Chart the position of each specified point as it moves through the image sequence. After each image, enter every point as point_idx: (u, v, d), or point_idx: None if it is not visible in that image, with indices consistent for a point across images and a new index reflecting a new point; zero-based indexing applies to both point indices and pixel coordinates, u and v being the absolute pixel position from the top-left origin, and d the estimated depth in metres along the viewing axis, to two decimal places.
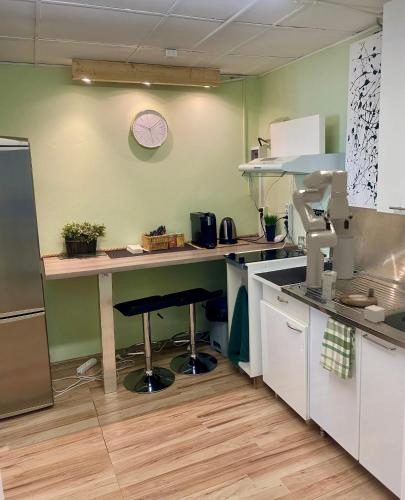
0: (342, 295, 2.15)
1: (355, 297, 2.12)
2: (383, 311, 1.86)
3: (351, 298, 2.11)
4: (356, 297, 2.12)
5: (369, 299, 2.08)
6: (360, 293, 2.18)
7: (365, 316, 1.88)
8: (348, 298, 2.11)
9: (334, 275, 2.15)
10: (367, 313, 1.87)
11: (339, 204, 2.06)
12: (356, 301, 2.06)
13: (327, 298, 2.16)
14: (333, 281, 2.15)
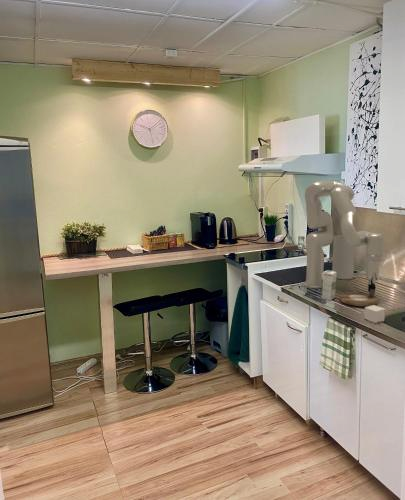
0: (343, 294, 2.16)
1: (354, 297, 2.12)
2: (383, 311, 1.86)
3: (350, 298, 2.11)
4: (356, 297, 2.12)
5: (369, 300, 2.07)
6: (362, 293, 2.17)
7: (365, 316, 1.88)
8: (347, 298, 2.11)
9: (334, 275, 2.15)
10: (367, 313, 1.87)
11: None
12: (354, 301, 2.06)
13: (327, 298, 2.16)
14: (333, 281, 2.15)
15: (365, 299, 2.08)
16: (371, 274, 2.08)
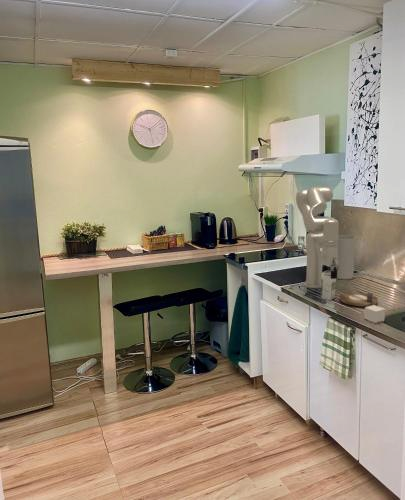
0: (355, 292, 2.19)
1: (356, 296, 2.13)
2: (383, 311, 1.86)
3: (351, 295, 2.15)
4: (358, 296, 2.13)
5: (356, 301, 2.07)
6: (373, 298, 2.10)
7: (365, 316, 1.88)
8: (349, 294, 2.16)
9: None
10: (367, 313, 1.87)
11: None
12: (344, 297, 2.13)
13: (327, 298, 2.16)
14: (333, 281, 2.15)
15: (356, 299, 2.08)
16: (332, 260, 2.09)
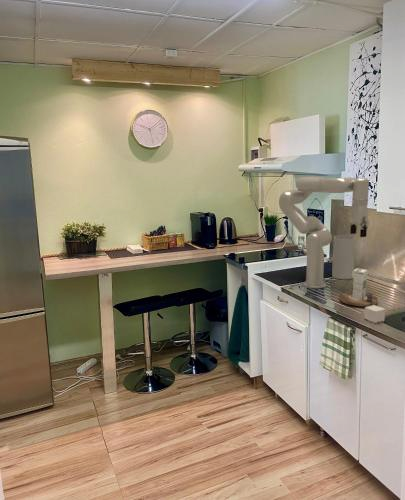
0: None
1: None
2: (383, 311, 1.86)
3: None
4: None
5: (356, 301, 2.07)
6: (373, 298, 2.10)
7: (365, 316, 1.88)
8: (349, 294, 2.16)
9: (365, 273, 2.07)
10: (367, 313, 1.87)
11: None
12: (344, 297, 2.13)
13: (358, 297, 2.09)
14: (364, 279, 2.07)
15: (356, 299, 2.08)
16: (362, 218, 2.11)
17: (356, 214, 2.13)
